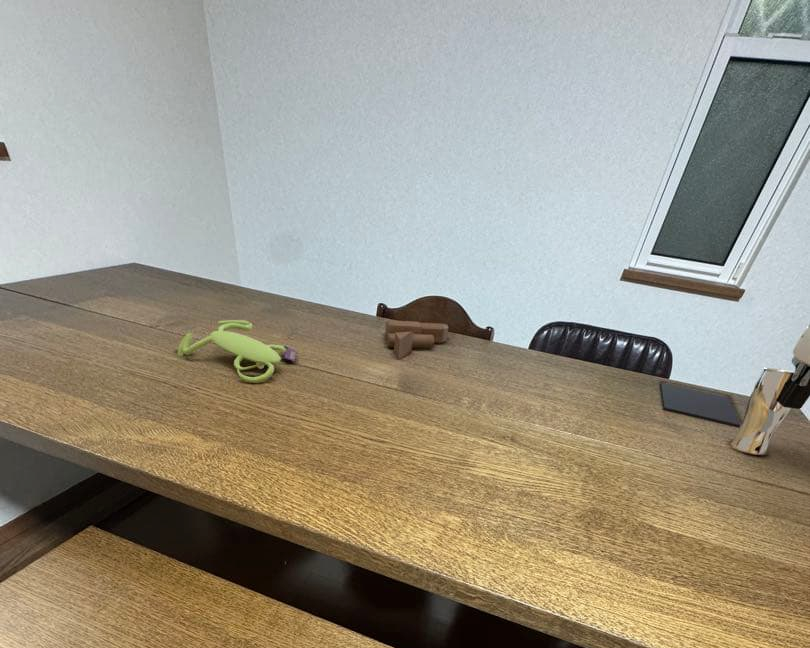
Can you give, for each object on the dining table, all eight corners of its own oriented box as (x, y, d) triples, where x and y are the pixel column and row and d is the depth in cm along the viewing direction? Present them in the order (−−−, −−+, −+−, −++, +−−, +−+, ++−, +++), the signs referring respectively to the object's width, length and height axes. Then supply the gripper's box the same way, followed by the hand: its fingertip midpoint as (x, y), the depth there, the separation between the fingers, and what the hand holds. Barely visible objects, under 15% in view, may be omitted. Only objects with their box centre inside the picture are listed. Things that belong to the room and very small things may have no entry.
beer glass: (727, 443, 93) (762, 367, 87) (767, 451, 90) (806, 373, 83) (726, 449, 88) (763, 368, 81) (769, 458, 85) (811, 375, 78)
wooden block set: (383, 315, 120) (447, 318, 124) (381, 338, 124) (443, 340, 128) (395, 335, 107) (466, 338, 112) (393, 359, 111) (462, 361, 115)
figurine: (235, 336, 113) (232, 312, 109) (316, 366, 103) (315, 340, 99) (169, 352, 100) (163, 326, 97) (253, 387, 90) (250, 359, 87)
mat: (727, 399, 113) (728, 397, 112) (739, 427, 100) (740, 425, 99) (660, 384, 116) (661, 382, 116) (663, 409, 103) (664, 407, 103)
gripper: (931, 307, 63) (837, 427, 75) (857, 285, 74) (786, 392, 86) (878, 300, 63) (792, 421, 75) (812, 279, 74) (747, 387, 86)
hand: (789, 406), depth 80 cm, fingers closed
